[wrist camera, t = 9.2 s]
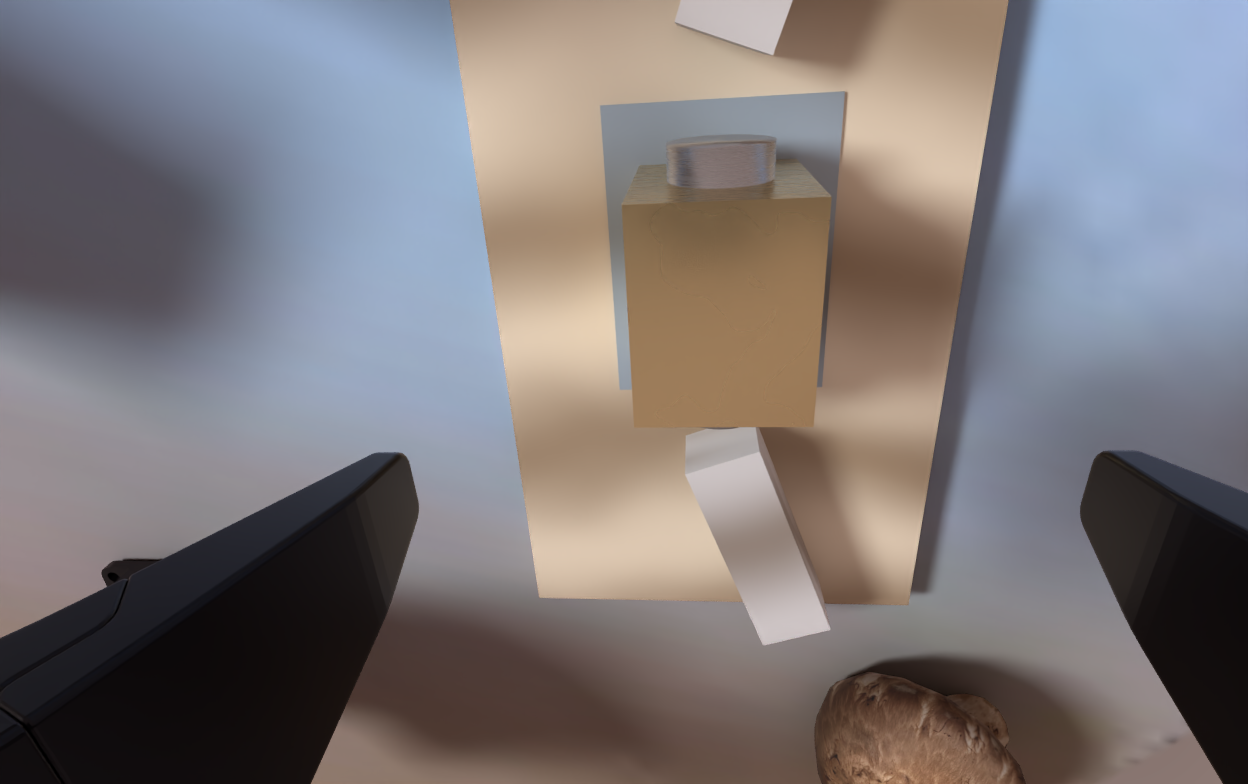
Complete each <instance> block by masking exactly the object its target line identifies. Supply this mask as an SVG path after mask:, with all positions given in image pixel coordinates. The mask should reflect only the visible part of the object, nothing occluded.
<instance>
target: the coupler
mask: <svg viewBox="0 0 1248 784" xmlns="http://www.w3.org/2000/svg"><path fill="white" fill-rule="evenodd" d="M776 141H777V139H776V138H775V137H772V136H766V135H753V134H724V135H706V136H695V137H687V138H681V139H676V140H672V141H669V142H667V143H666V164H659V165H639V167H638V170H637V172H636V174H635V176H634V178H633V181H632V183H631V185H630V187H629V189H628V192H627V194H626V196H625V198H624V200H623V203H622V222H623V240H624V258H625V276H626V294H627V312H628V330H629V348H630V366H631V383H632V401H633V419H634V428H676V427H700V428H706V429H719V430H721V429H734V428H739V427H814V417H815V404H816V391H817V378H818V366H819V353H820V340H821V327H822V315H823V302H824V289H825V276H826V264H827V251H828V238H829V225H830V213H831V200H832V197H831V195H830V194H829V193H828V192H827V191H826V190H825V189H824V188H823V187H822V186H821V185H820V184H819V182H818V181H817V180H816V179H815V178H814V177H813V176H812V175H811V174H810V173H809V172H808V171H807V169H806V168H805V167H804V166H803V165H802V164H801V163H800V162H799V161H798V160H797V159H776Z"/></svg>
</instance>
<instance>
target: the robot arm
mask: <svg viewBox="0 0 1248 784" xmlns="http://www.w3.org/2000/svg"><path fill="white" fill-rule="evenodd" d="M418 513H419V503H418V498H417V494H416V489H415V485H414V481H413V476H412V472H411V468H410V464H409V461H408V459H407V457H406V456H405V455H404V454H402V453H398V452H384V453H374V454H371V455H369V456H367V457H365V458H363V459H361V460H359V461H357V462H355V463H353V464H351V465H349V466H347V467H345V468H343V469H341V470H339V471H337V472H335V473H333V474H331V475H329V476H327V477H325V478H323V479H321V480H319V481H317V482H316V483H314V484H312V485H310V486H308V487H306V488H304V489H302V490H300V491H298V492H296V493H294V494H292V495H290V496H288V497H286V498H284V499H282V500H280V501H278V502H276V503H274V504H272V505H270V506H268V507H266V508H264V509H262V510H260V511H258V512H256V513H254V514H252V515H250V516H248V517H246V518H244V519H242V520H240V521H238V522H236V523H234V524H232V525H230V526H228V527H226V528H224V529H222V530H220V531H218V532H216V533H214V534H212V535H210V536H208V537H206V538H204V539H202V540H200V541H198V542H196V543H194V544H192V545H190V546H188V547H186V548H184V549H182V550H180V551H178V552H176V553H174V554H172V555H170V556H168V557H166V558H164V559H162V560H160V561H112V562H111V563H110V564H109V565H108V566H106V567H105V568H104V569H103V570H102V573H101V574H102V577H103V579H104V581H105V583H106V585H107V587H106V588H104V589H102V590H100V591H98V592H96V593H94V594H92V595H90V596H88V597H86V598H84V599H82V600H80V601H78V602H76V603H74V604H72V605H69V606H67V607H65V608H63V609H61V610H59V611H57V612H55V613H53V614H51V615H49V616H47V617H45V618H43V619H41V620H39V621H36V622H34V623H32V624H30V625H28V626H26V627H23V628H21V629H19V630H17V631H15V632H12V633H10V634H8V635H6V636H4V637H2V638H0V784H311V782H312V780H313V778H314V775H315V773H316V771H317V769H318V766H319V764H320V762H321V760H322V758H323V755H324V753H325V751H326V749H327V746H328V744H329V742H330V740H331V738H332V735H333V733H334V731H335V729H336V726H337V724H338V722H339V720H340V717H341V715H342V713H343V711H344V709H345V706H346V704H347V702H348V700H349V697H350V695H351V693H352V691H353V689H354V686H355V684H356V682H357V680H358V677H359V675H360V673H361V671H362V668H363V666H364V664H365V662H366V660H367V657H368V655H369V653H370V651H371V648H372V646H373V644H374V642H375V640H376V637H377V635H378V633H379V631H380V628H381V626H382V624H383V621H384V619H385V617H386V614H387V612H388V609H389V606H390V603H391V600H392V598H393V595H394V591H395V588H396V585H397V582H398V579H399V576H400V573H401V569H402V566H403V563H404V560H405V557H406V554H407V551H408V547H409V544H410V541H411V538H412V535H413V532H414V529H415V525H416V522H417V519H418ZM1080 516H1081V521H1082V524H1083V527H1084V529H1085V531H1086V534H1087V536H1088V538H1089V540H1090V542H1091V544H1092V547H1093V549H1094V551H1095V553H1096V555H1097V558H1098V560H1099V562H1100V564H1101V566H1102V568H1103V571H1104V573H1105V575H1106V577H1107V579H1108V582H1109V584H1110V586H1111V588H1112V590H1113V593H1114V595H1115V597H1116V599H1117V601H1118V603H1119V606H1120V608H1121V610H1122V612H1123V614H1124V616H1125V618H1126V620H1127V622H1128V624H1129V626H1130V628H1131V630H1132V632H1133V634H1134V635H1135V637H1136V639H1137V641H1138V642H1139V644H1140V646H1141V648H1142V649H1143V651H1144V653H1145V654H1146V656H1147V658H1148V659H1149V661H1150V663H1151V664H1152V666H1153V668H1154V670H1155V671H1156V673H1157V675H1158V676H1159V678H1160V680H1161V681H1162V683H1163V685H1164V686H1165V688H1166V690H1167V691H1168V693H1169V695H1170V696H1171V698H1172V700H1173V701H1174V703H1175V705H1176V706H1177V708H1178V710H1179V711H1180V713H1181V715H1182V716H1183V718H1184V720H1185V721H1186V723H1187V725H1188V726H1189V728H1190V730H1191V731H1192V733H1193V735H1194V736H1195V738H1196V740H1197V741H1198V743H1199V745H1200V746H1201V748H1202V750H1203V751H1204V753H1205V755H1206V756H1207V758H1208V760H1209V761H1210V763H1211V765H1212V766H1213V768H1214V770H1215V771H1216V773H1217V775H1218V776H1219V778H1220V780H1221V781H1222V783H1223V784H1248V493H1246V492H1243V491H1241V490H1238V489H1236V488H1233V487H1231V486H1228V485H1225V484H1223V483H1220V482H1218V481H1215V480H1212V479H1210V478H1207V477H1205V476H1202V475H1199V474H1197V473H1194V472H1192V471H1189V470H1187V469H1184V468H1181V467H1179V466H1176V465H1174V464H1171V463H1168V462H1166V461H1163V460H1161V459H1158V458H1156V457H1153V456H1150V455H1148V454H1145V453H1143V452H1139V451H1103V452H1101V453H1100V454H1098V455H1097V456H1096V458H1095V459H1094V461H1093V464H1092V467H1091V471H1090V474H1089V478H1088V481H1087V485H1086V488H1085V491H1084V495H1083V498H1082V502H1081V507H1080Z"/></svg>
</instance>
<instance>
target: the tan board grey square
mask: <svg viewBox="0 0 1248 784" xmlns="http://www.w3.org/2000/svg"><path fill="white" fill-rule="evenodd" d="M1008 1H1009V0H450V6H451V13H452V20H453V26H454V33H455V40H456V46H457V53H458V60H459V66H460V73H461V80H462V86H463V93H464V100H465V106H466V113H467V120H468V126H469V133H470V140H471V146H472V153H473V160H474V166H475V173H476V180H477V186H478V193H479V199H480V206H481V213H482V219H483V226H484V233H485V239H486V246H487V253H488V259H489V266H490V273H491V279H492V286H493V293H494V299H495V306H496V313H497V319H498V326H499V333H500V339H501V346H502V353H503V359H504V366H505V373H506V379H507V386H508V393H509V399H510V406H511V412H512V419H513V426H514V432H515V439H516V446H517V452H518V459H519V466H520V472H521V479H522V486H523V492H524V499H525V506H526V512H527V519H528V526H529V532H530V539H531V546H532V552H533V559H534V566H535V572H536V579H537V586H538V592H539V598H576V599H626V600H677V601H727V602H744V604H745V607H746V609H747V611H748V613H749V615H750V617H751V620H752V622H753V624H754V626H755V628H756V631H757V633H758V635H759V637H760V639H761V641H762V644H763V645H767V644H772V643H776V642H780V641H785V640H789V639H793V638H797V637H802V636H806V635H810V634H815V633H819V632H823V631H828V630H831V629H830V625H829V621H828V616H827V612H826V608H825V604H824V603H828V604H878V605H908V604H909V598H910V592H911V586H912V580H913V574H914V568H915V562H916V555H917V549H918V543H919V537H920V531H921V525H922V519H923V513H924V507H925V501H926V495H927V489H928V483H929V477H930V471H931V465H932V459H933V453H934V447H935V441H936V435H937V429H938V423H939V417H940V411H941V405H942V399H943V393H944V387H945V381H946V375H947V369H948V363H949V357H950V351H951V345H952V339H953V333H954V327H955V321H956V315H957V309H958V302H959V296H960V290H961V284H962V278H963V272H964V266H965V260H966V254H967V248H968V242H969V236H970V230H971V224H972V218H973V212H974V206H975V200H976V194H977V188H978V182H979V176H980V170H981V164H982V158H983V152H984V146H985V140H986V134H987V128H988V122H989V116H990V110H991V104H992V98H993V92H994V86H995V80H996V74H997V68H998V62H999V56H1000V49H1001V43H1002V37H1003V31H1004V25H1005V19H1006V13H1007V7H1008ZM724 134H753V135H766V136H772V137H775V138H776V139H777V141H776V159H797V160H798V161H799V162H800V163H801V164H802V165H803V166H804V167H805V168H806V169H807V171H808V172H809V173H810V174H811V175H812V176H813V177H814V178H815V179H816V180H817V181H818V182H819V184H820V185H821V186H822V187H823V188H824V189H825V190H826V191H827V192H828V193H829V194H830V195H831V197H832V200H831V213H830V225H829V238H828V251H827V264H826V276H825V289H824V302H823V315H822V327H821V340H820V353H819V366H818V378H817V391H816V404H815V417H814V427H739V428H734V429H721V430H719V429H706V428H700V427H676V428H634V419H633V401H632V383H631V366H630V348H629V330H628V312H627V294H626V276H625V258H624V240H623V222H622V203H623V200H624V198H625V196H626V194H627V192H628V189H629V187H630V185H631V183H632V181H633V178H634V176H635V174H636V172H637V170H638V167H639V165H659V164H666V143H667V142H669V141H672V140H676V139H681V138H687V137H695V136H706V135H724Z"/></svg>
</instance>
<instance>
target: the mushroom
mask: <svg viewBox="0 0 1248 784" xmlns="http://www.w3.org/2000/svg"><path fill="white" fill-rule="evenodd" d="M1009 740H1010V739H1009V734H1008V730H1007V725H1006V723H1005V721H1004V719H1003V717H1002V715H1001V714H1000V712H999V710H998V709H997V708H996V707H994V706H993V705H992V704H991V703H989V702H988V701H987V700H986V699H984V698H982V697H978V696H974V695H970V694H957V695H949V696H945V695H942V694H940V693H938V692H935V691H933V690H930V689H928V688H926V687H923V686H921V685H919V684H916V683H914V682H912V681H909V680H907V679H905V678H902V677H896V676H890V675H884V674H878V673H872V672H866V673H863V674H859V675H856V676H853V677H850V678H847V679H844V680H841V681H838V682H836V683H835V684H834V685H833V686H832V687H830V689H829V691H828V693H827V696H826V698H825V700H824V702H823V704H822V706H821V709H820V711H819V713H818V715H817V719H816V723H815V749H816V758H817V767H818V774H819V777H820V779H821V782H822V784H1026V783H1025V780H1024V777H1023V774H1022V771H1021V768H1020V765H1019V764H1018V763H1017V762H1016V760H1015V759H1014V758H1013V757H1012V756H1011V754H1010V753H1009V752H1008V751H1007V750H1006V746H1007V744H1008V742H1009Z"/></svg>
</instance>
